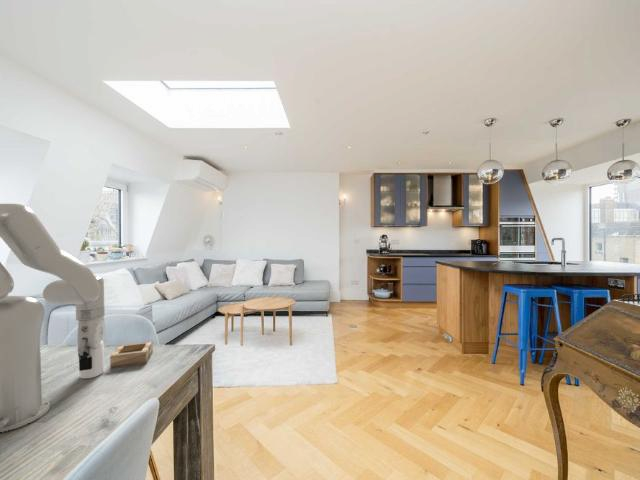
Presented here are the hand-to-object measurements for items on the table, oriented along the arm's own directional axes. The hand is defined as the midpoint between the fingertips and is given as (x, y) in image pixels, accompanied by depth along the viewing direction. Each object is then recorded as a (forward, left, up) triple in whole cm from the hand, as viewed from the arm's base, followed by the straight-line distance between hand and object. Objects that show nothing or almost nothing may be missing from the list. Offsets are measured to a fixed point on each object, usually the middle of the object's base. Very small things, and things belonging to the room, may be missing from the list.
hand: (92, 363), depth 96 cm
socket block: (+8, -10, -4) cm, 13 cm away
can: (0, 0, -4) cm, 4 cm away
